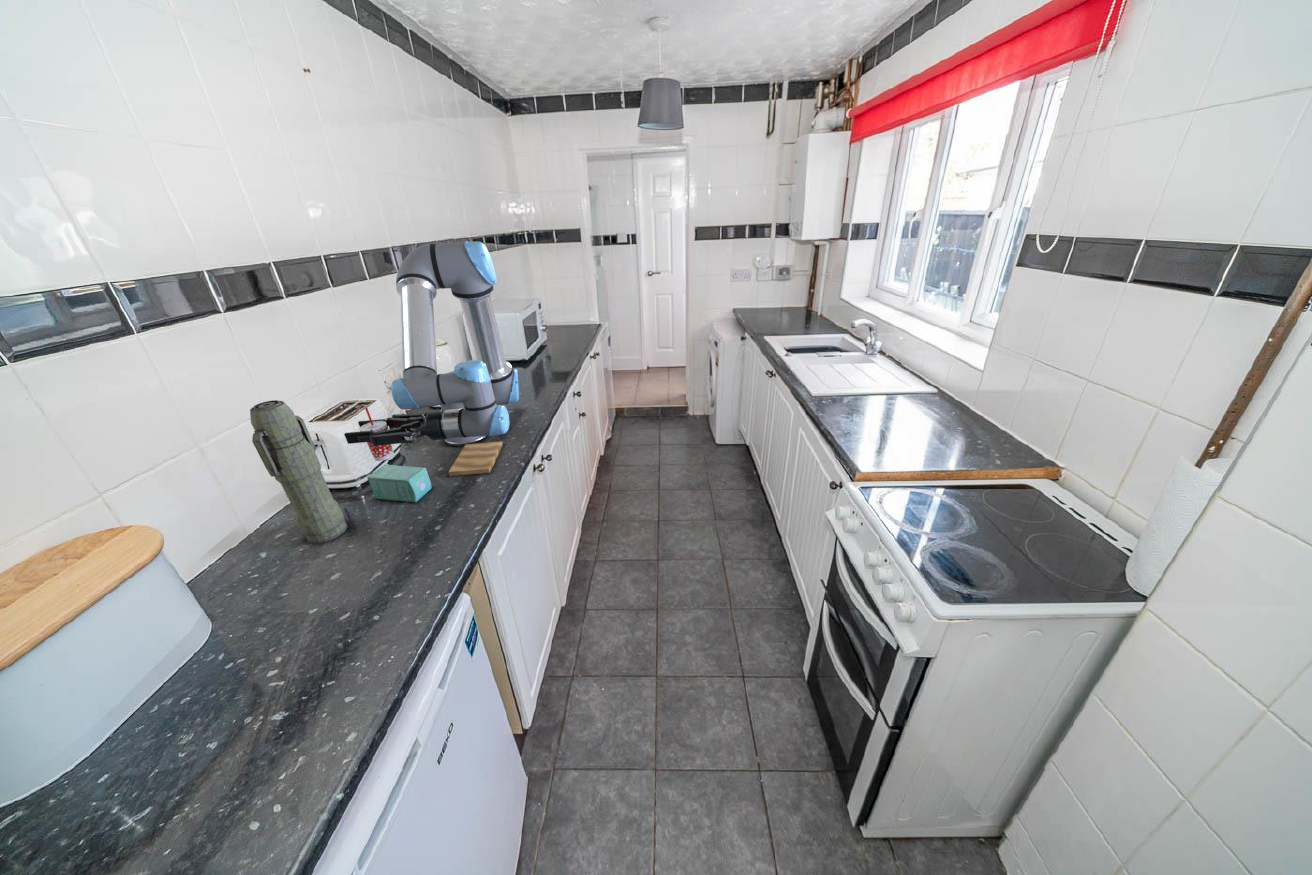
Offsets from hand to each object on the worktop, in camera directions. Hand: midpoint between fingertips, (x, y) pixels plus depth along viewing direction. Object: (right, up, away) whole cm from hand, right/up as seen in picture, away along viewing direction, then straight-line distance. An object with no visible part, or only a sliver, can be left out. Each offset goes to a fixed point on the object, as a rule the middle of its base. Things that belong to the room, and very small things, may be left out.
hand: (353, 432), depth 115 cm
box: (+6, -18, +13) cm, 23 cm away
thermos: (-6, -25, -1) cm, 26 cm away
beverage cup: (+5, -7, +4) cm, 9 cm away
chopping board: (+20, -8, +29) cm, 36 cm away
